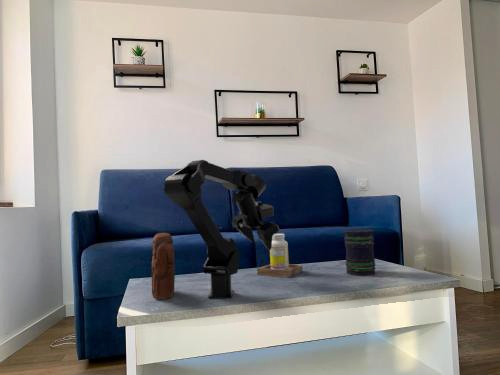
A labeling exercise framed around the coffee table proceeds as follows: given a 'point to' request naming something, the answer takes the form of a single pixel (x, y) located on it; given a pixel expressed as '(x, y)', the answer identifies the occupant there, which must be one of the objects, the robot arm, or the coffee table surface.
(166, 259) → the wooden figurine
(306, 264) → the coffee table surface
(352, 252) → the storage jar
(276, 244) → the supplement bottle
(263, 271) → the walnut tray
